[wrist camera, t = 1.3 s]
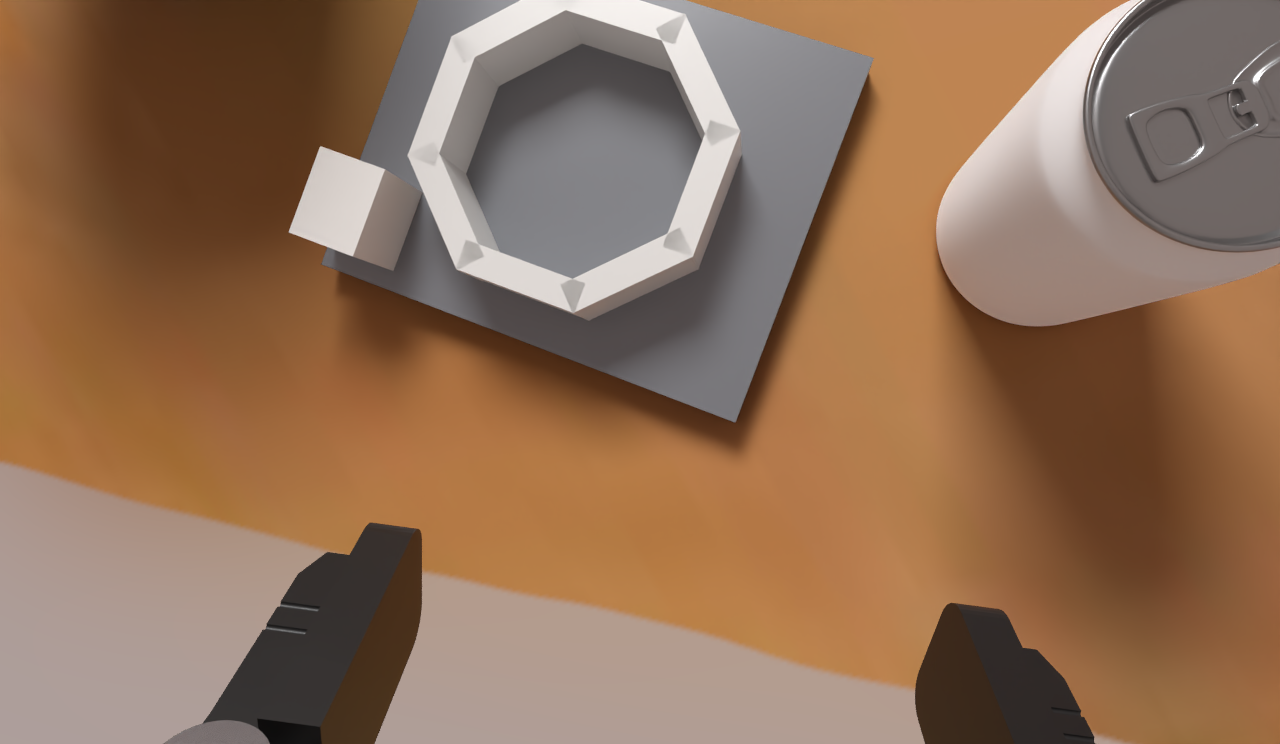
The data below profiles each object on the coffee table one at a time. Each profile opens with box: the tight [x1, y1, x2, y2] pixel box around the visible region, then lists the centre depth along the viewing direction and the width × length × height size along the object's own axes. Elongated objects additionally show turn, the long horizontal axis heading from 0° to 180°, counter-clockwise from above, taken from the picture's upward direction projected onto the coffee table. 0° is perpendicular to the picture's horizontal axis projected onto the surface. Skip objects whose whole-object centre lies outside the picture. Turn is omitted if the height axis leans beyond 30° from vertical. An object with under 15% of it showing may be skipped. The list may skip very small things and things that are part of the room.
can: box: [936, 0, 1280, 326], centre depth 22 cm, size 6×6×12 cm
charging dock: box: [289, 0, 874, 422], centre depth 28 cm, size 13×16×4 cm
